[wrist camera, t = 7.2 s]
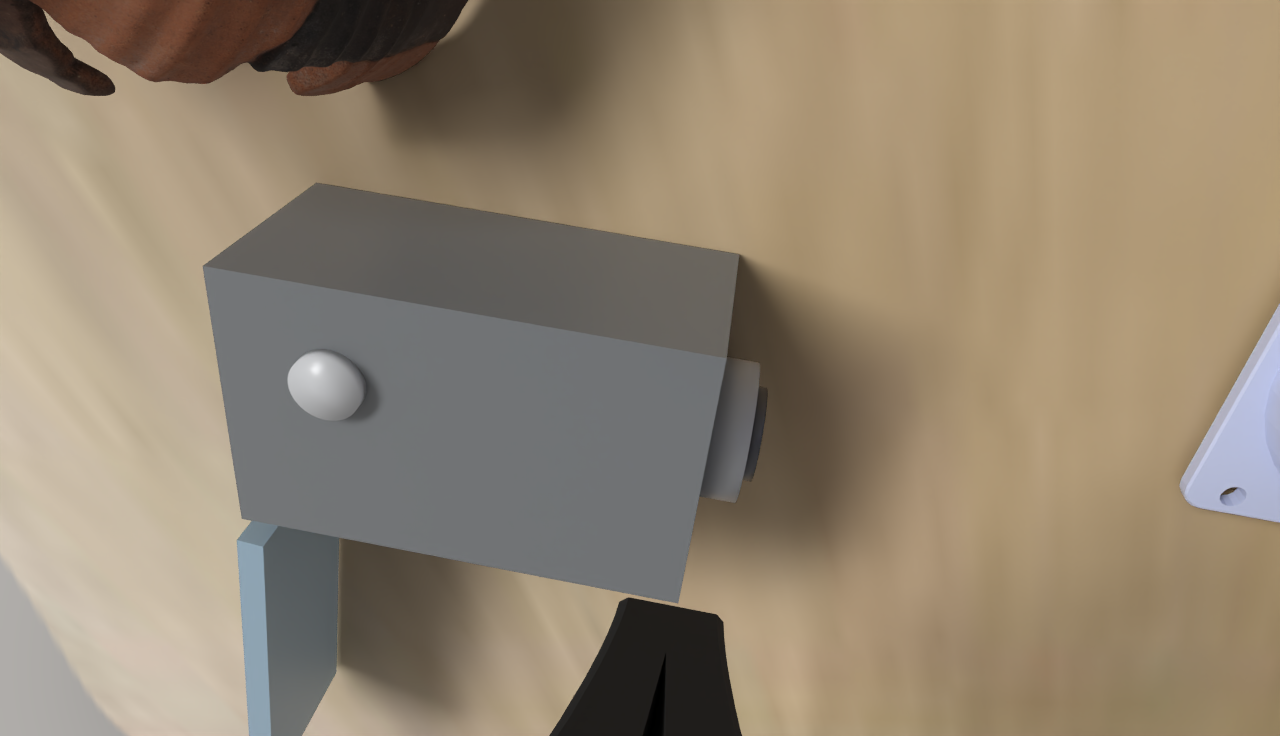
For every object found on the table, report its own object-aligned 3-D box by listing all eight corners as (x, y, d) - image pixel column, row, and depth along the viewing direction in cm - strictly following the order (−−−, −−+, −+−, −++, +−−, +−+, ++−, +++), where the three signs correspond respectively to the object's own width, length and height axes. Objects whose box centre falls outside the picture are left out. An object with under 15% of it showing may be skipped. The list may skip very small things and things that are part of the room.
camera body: (787, 262, 19) (787, 378, 15) (738, 479, 22) (727, 623, 18) (316, 183, 20) (193, 272, 16) (333, 404, 23) (234, 528, 19)
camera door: (336, 672, 28) (272, 788, 24) (299, 662, 28) (231, 777, 24) (341, 441, 23) (262, 546, 20) (296, 430, 23) (210, 533, 20)
